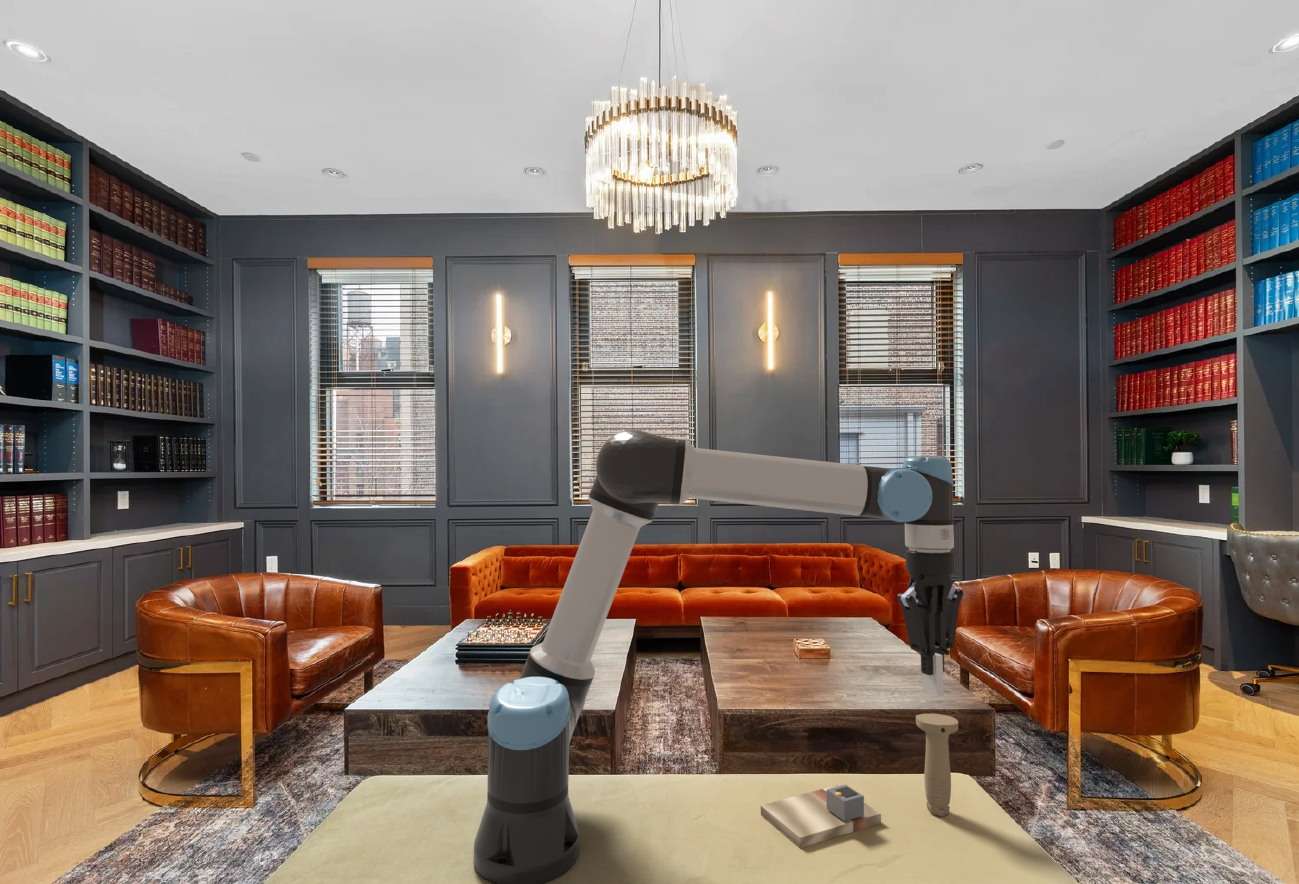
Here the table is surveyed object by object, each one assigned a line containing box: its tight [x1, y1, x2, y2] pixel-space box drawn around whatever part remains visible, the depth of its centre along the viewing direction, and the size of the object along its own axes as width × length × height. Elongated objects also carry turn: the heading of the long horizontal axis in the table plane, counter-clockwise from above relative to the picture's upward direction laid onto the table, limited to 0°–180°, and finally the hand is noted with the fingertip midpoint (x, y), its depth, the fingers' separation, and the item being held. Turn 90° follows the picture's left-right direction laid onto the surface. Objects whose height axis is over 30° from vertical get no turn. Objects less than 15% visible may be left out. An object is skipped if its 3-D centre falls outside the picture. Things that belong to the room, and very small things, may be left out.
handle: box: [915, 713, 959, 818], centre depth 104 cm, size 5×6×15 cm
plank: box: [760, 784, 882, 849], centre depth 101 cm, size 16×10×2 cm, turn 115°
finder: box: [827, 784, 865, 821], centre depth 100 cm, size 4×4×3 cm
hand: (933, 693), depth 104 cm, fingers closed
